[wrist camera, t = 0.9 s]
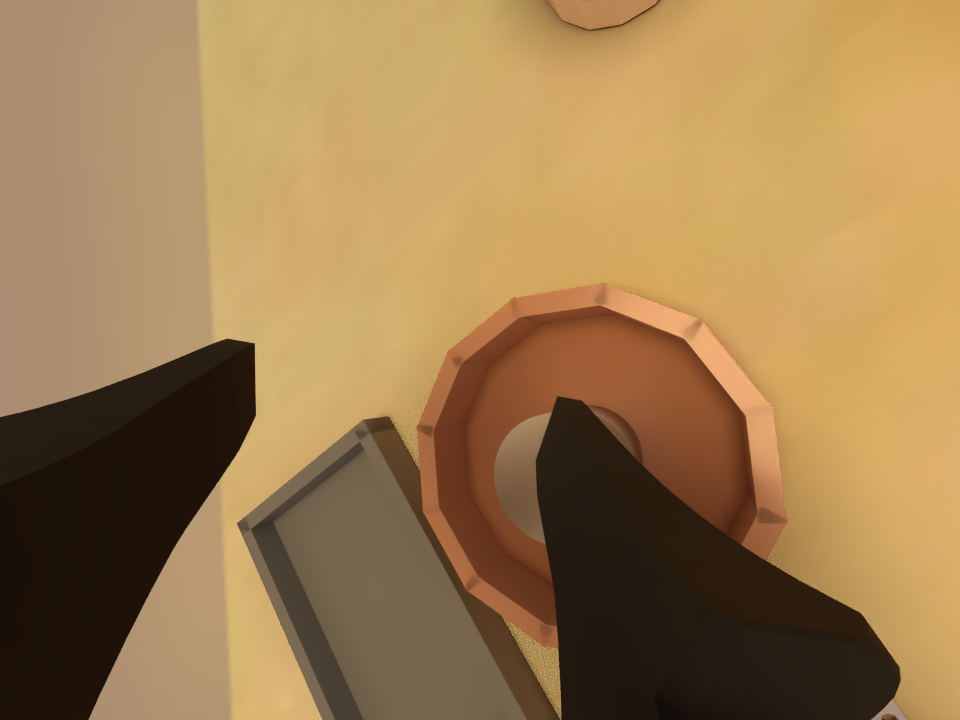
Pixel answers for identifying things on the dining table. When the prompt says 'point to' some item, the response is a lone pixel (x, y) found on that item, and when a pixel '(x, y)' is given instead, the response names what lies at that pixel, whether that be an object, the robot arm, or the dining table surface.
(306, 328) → the dining table surface
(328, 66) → the dining table surface
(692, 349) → the orange shallow faceted dish
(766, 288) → the dining table surface
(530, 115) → the dining table surface
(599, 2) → the white cup
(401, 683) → the charcoal tray
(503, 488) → the taupe rounded cylinder
